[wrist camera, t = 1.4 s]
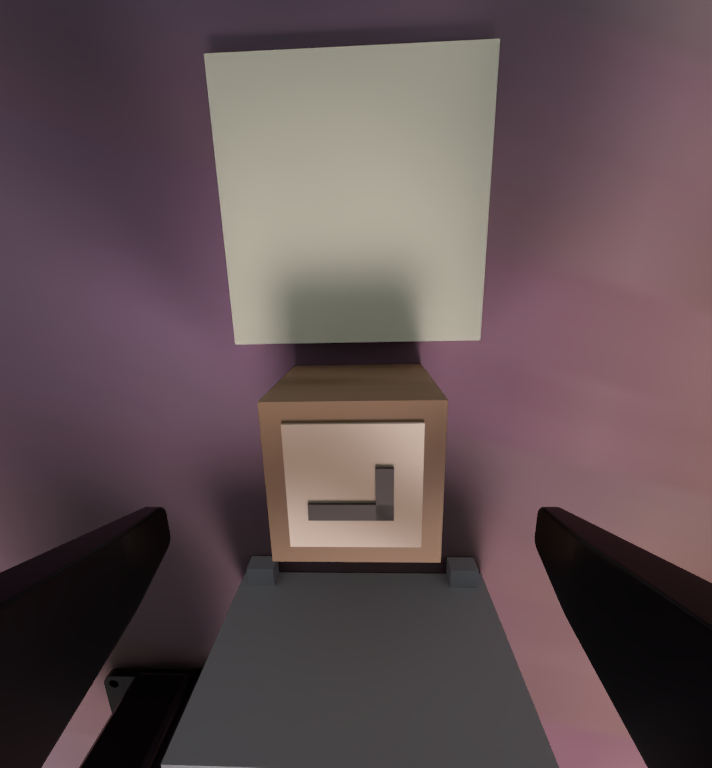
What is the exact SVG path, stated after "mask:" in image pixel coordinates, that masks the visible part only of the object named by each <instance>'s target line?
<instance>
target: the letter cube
mask: <svg viewBox="0 0 712 768" xmlns="http://www.w3.org/2000/svg"><path fill="white" fill-rule="evenodd" d="M257 403H258V413H259V424H260V434H261V445H262V455H263V465H264V476H265V486H266V497H267V507H268V518H269V528H270V539H271V549H272V560H273V561H279V562H428V563H441V547H442V525H443V503H444V481H445V459H446V437H447V415H448V399H447V398H446V397H445V395H444V394H443V393H442V391H441V390H440V389H439V387H438V386H437V385H436V383H435V382H434V381H433V379H432V378H431V377H430V375H429V374H428V373H427V371H426V370H425V369H424V367H423V366H422V365H421V364H362V365H295V366H294V367H293V368H292V369H291V370H290V371H289V372H288V373H287V374H286V375H285V376H284V377H283V378H282V379H281V380H280V381H279V382H278V383H277V384H276V385H275V386H273V387H272V388H271V389H270V390H269V391H268V392H267V393H266V394H265V395H264V396H263V397H262V398H261V399H260V400H259V401H258V402H257Z"/></svg>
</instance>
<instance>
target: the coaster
mask: <svg viewBox="0 0 712 768" xmlns="http://www.w3.org/2000/svg"><path fill="white" fill-rule="evenodd" d="M499 49H500V39H481V40H462V41H442V42H422V43H402V44H382V45H363V46H343V47H323V48H303V49H284V50H264V51H244V52H224V53H204V61H205V70H206V79H207V88H208V98H209V107H210V116H211V125H212V134H213V144H214V153H215V162H216V171H217V180H218V190H219V199H220V208H221V217H222V227H223V236H224V245H225V254H226V263H227V273H228V282H229V291H230V300H231V309H232V319H233V328H234V337H235V344H292V343H349V342H406V341H463V340H480V336H481V321H482V306H483V291H484V276H485V261H486V245H487V230H488V215H489V200H490V185H491V170H492V155H493V140H494V125H495V110H496V94H497V79H498V64H499Z"/></svg>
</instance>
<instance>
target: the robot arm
mask: <svg viewBox="0 0 712 768" xmlns="http://www.w3.org/2000/svg"><path fill="white" fill-rule="evenodd" d="M169 543H170V531H169V525H168V520H167V514H166V511H165V509H164V508H162V507H145V508H142V509H140V510H138V511H136V512H134V513H131V514H129V515H127V516H125V517H122V518H120V519H118V520H116V521H114V522H111V523H109V524H107V525H105V526H103V527H100V528H98V529H96V530H94V531H92V532H89V533H87V534H85V535H83V536H80V537H78V538H76V539H74V540H72V541H69V542H67V543H65V544H63V545H61V546H58V547H56V548H54V549H52V550H50V551H47V552H45V553H43V554H41V555H39V556H36V557H34V558H32V559H30V560H27V561H25V562H23V563H21V564H19V565H16V566H14V567H12V568H10V569H8V570H5V571H3V572H1V573H0V768H41V767H42V766H43V764H44V762H45V761H46V759H47V757H48V756H49V754H50V752H51V751H52V749H53V748H54V746H55V744H56V743H57V741H58V739H59V738H60V736H61V734H62V733H63V731H64V729H65V728H66V726H67V724H68V723H69V721H70V720H71V718H72V716H73V715H74V713H75V711H76V710H77V708H78V706H79V705H80V703H81V701H82V700H83V698H84V697H85V695H86V693H87V692H88V690H89V688H90V687H91V685H92V683H93V682H94V680H95V678H96V677H97V675H98V674H99V672H100V670H101V669H102V667H103V665H104V664H105V662H106V660H107V659H108V657H109V655H110V654H111V652H112V650H113V649H114V647H115V646H116V644H117V642H118V641H119V639H120V637H121V636H122V634H123V632H124V631H125V629H126V627H127V626H128V624H129V623H130V621H131V619H132V617H133V616H134V614H135V612H136V611H137V609H138V607H139V605H140V603H141V601H142V599H143V597H144V595H145V593H146V591H147V589H148V587H149V585H150V583H151V581H152V579H153V577H154V575H155V573H156V571H157V569H158V567H159V565H160V563H161V561H162V559H163V557H164V555H165V553H166V551H167V549H168V546H169ZM535 544H536V548H537V551H538V553H539V555H540V558H541V560H542V562H543V565H544V567H545V569H546V572H547V574H548V576H549V579H550V581H551V584H552V586H553V588H554V591H555V593H556V595H557V598H558V600H559V602H560V605H561V607H562V609H563V611H564V613H565V615H566V617H567V619H568V621H569V623H570V625H571V627H572V629H573V631H574V633H575V634H576V636H577V638H578V640H579V642H580V644H581V645H582V647H583V649H584V651H585V653H586V655H587V656H588V658H589V660H590V662H591V664H592V666H593V668H594V669H595V671H596V673H597V675H598V677H599V679H600V680H601V682H602V684H603V686H604V688H605V690H606V692H607V693H608V695H609V697H610V699H611V701H612V703H613V704H614V706H615V708H616V710H617V712H618V714H619V716H620V717H621V719H622V721H623V723H624V725H625V727H626V728H627V730H628V732H629V734H630V736H631V738H632V740H633V741H634V743H635V745H636V747H637V749H638V751H639V752H640V754H641V756H642V758H643V760H644V762H645V764H646V765H647V767H648V768H712V583H710V582H708V581H706V580H704V579H702V578H700V577H698V576H696V575H694V574H692V573H690V572H688V571H686V570H684V569H682V568H680V567H678V566H676V565H674V564H672V563H670V562H668V561H666V560H664V559H662V558H660V557H658V556H656V555H654V554H652V553H650V552H648V551H646V550H644V549H642V548H640V547H638V546H636V545H634V544H632V543H630V542H628V541H626V540H624V539H622V538H620V537H618V536H616V535H614V534H612V533H610V532H608V531H606V530H604V529H602V528H600V527H598V526H596V525H594V524H592V523H590V522H588V521H586V520H584V519H582V518H580V517H578V516H576V515H574V514H572V513H569V512H567V511H565V510H563V509H561V508H559V507H541V508H540V509H539V511H538V514H537V523H536V531H535ZM201 672H202V670H180V669H128V668H116V669H113V670H111V671H110V673H109V674H108V676H107V677H106V679H105V680H104V685H105V688H106V692H107V696H108V700H109V703H110V707H111V711H112V715H111V716H110V718H109V719H108V721H107V723H106V724H105V726H104V728H103V729H102V731H101V733H100V734H99V736H98V737H97V739H96V741H95V742H94V744H93V746H92V747H91V749H90V751H89V752H88V754H87V755H86V757H85V759H84V760H83V762H82V764H81V765H80V767H79V768H161V763H162V760H163V758H164V756H165V754H166V751H167V749H168V747H169V745H170V742H171V740H172V738H173V736H174V733H175V731H176V729H177V726H178V724H179V722H180V720H181V717H182V715H183V713H184V711H185V708H186V706H187V704H188V702H189V699H190V697H191V695H192V692H193V690H194V688H195V686H196V683H197V681H198V679H199V677H200V674H201Z"/></svg>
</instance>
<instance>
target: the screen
mask: <svg viewBox="0 0 712 768" xmlns="http://www.w3.org/2000/svg"><path fill="white" fill-rule="evenodd" d="M246 570H247V572H245V575H244V577H243V579H242V581H241V584H240V586H239V588H238V590H237V593H236V595H235V597H234V600H233V602H232V604H231V606H230V609H229V611H228V613H227V615H226V618H225V620H224V622H223V624H222V627H221V629H220V631H219V634H218V636H217V638H216V640H215V643H214V645H213V647H212V649H211V652H210V654H209V656H208V658H207V661H206V663H205V665H204V668H203V670H202V672H201V674H200V677H199V679H198V681H197V683H196V686H195V688H194V690H193V692H192V695H191V697H190V699H189V702H188V704H187V706H186V708H185V711H184V713H183V715H182V717H181V720H180V722H179V724H178V726H177V729H176V731H175V733H174V736H173V738H172V740H171V742H170V745H169V747H168V749H167V751H166V754H165V756H164V758H163V760H162V763H161V768H559V766H558V764H557V761H556V759H555V756H554V754H553V751H552V749H551V746H550V744H549V741H548V739H547V736H546V734H545V731H544V729H543V726H542V724H541V721H540V719H539V717H538V714H537V712H536V709H535V707H534V704H533V702H532V699H531V697H530V694H529V692H528V689H527V687H526V684H525V682H524V679H523V677H522V674H521V672H520V669H519V667H518V664H517V662H516V659H515V657H514V654H513V652H512V649H511V647H510V644H509V642H508V639H507V637H506V634H505V632H504V629H503V627H502V624H501V622H500V620H499V617H498V615H497V612H496V610H495V607H494V605H493V602H492V600H491V597H490V595H489V592H488V590H487V587H486V585H485V582H484V580H483V577H482V575H481V574H479V570H478V567H477V565H476V562H475V560H474V557H447V567H446V574H423V573H299V572H279V566H278V561H273V560H272V556H252V557H251V560H250V562H249V564H248V566H247V569H246Z"/></svg>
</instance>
